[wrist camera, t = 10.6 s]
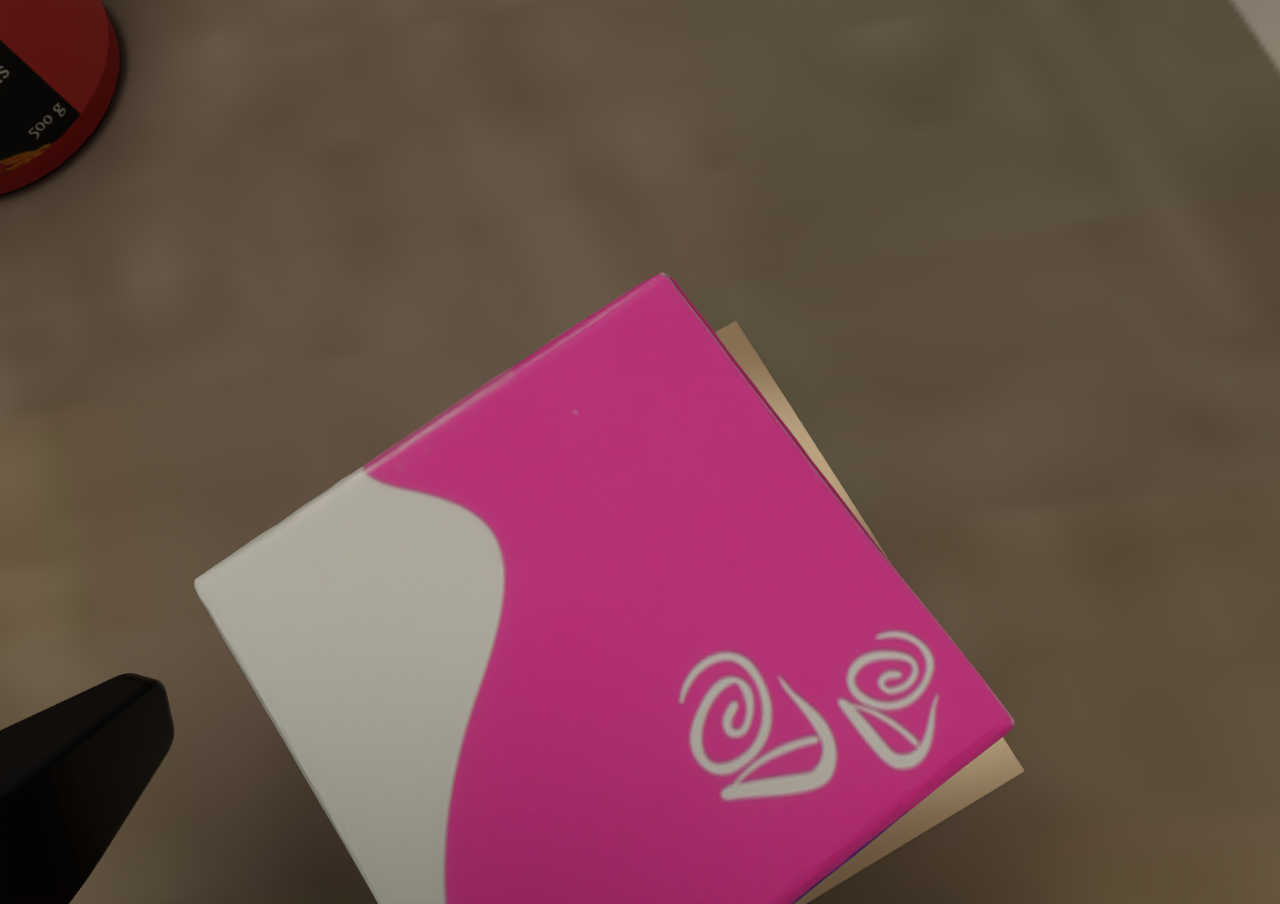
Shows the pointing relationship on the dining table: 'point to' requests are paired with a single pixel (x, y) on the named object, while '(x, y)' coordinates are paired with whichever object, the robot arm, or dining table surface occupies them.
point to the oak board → (998, 758)
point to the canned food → (51, 82)
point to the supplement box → (600, 640)
